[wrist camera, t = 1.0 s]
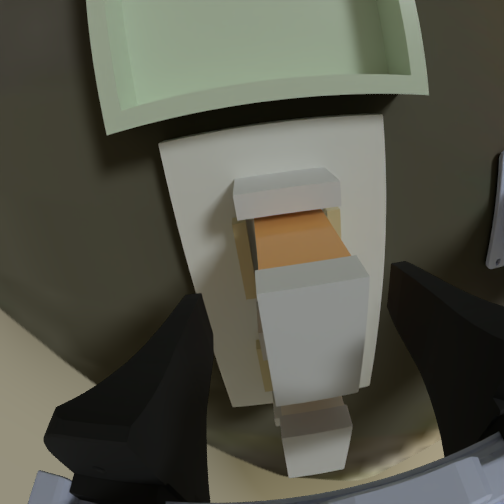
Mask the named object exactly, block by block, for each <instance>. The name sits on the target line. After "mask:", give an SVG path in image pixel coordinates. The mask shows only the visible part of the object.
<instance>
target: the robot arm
mask: <svg viewBox="0 0 504 504" xmlns="http://www.w3.org/2000/svg"><path fill="white" fill-rule="evenodd" d="M486 266H487V267H488V268H489V269H494V268H498V267H502V266H504V151H503V152H502V153H501V154H500V157H499V170H498V183H497V194H496V203H495V211H494V218H493V225H492V231H491V237H490V243H489V248H488V254H487V258H486ZM387 308H388V310H389V313H390V315H391V318H392V320H393V323H394V325H395V327H396V329H397V331H398V333H399V335H400V336H401V338H402V340H403V342H404V344H405V345H406V347H407V349H408V351H409V353H410V354H411V356H412V358H413V360H414V362H415V363H416V365H417V367H418V369H419V371H420V373H421V375H422V378H423V380H424V383H425V385H426V388H427V391H428V394H429V396H430V400H431V403H432V406H433V409H434V412H435V416H436V419H437V423H438V427H439V431H440V435H441V440H442V446H443V451H444V458H442V459H439V460H437V461H434V462H432V463H429V464H426V465H424V466H421V467H418V468H415V469H413V470H410V471H407V472H404V473H401V474H397V475H394V476H391V477H388V478H385V479H381V480H377V481H374V482H370V483H366V484H362V485H358V486H354V487H350V488H345V489H341V490H336V491H331V492H325V493H320V494H315V495H309V496H301V497H294V498H286V499H278V500H267V501H255V502H240V503H238V502H237V503H210V495H209V484H208V468H207V439H206V415H207V403H208V396H209V388H210V381H211V373H212V365H213V355H214V340H213V331H212V328H211V325H210V321H209V318H208V314H207V311H206V307H205V304H204V300H203V297H202V293H197V294H189V295H185V296H184V298H183V299H182V300H181V301H180V303H179V304H178V305H177V307H176V308H175V309H174V310H173V312H172V313H171V314H170V316H169V317H168V318H167V320H166V321H165V322H164V323H163V325H162V326H161V327H160V328H159V329H158V331H157V332H156V333H155V334H154V335H153V336H152V337H151V338H150V340H149V341H148V342H147V343H146V344H145V345H144V346H143V347H142V348H141V349H140V350H139V351H138V352H137V353H136V354H135V355H134V356H133V357H132V358H131V359H130V360H129V361H128V362H126V363H125V364H124V365H123V366H122V367H120V368H119V369H118V370H117V371H115V372H114V373H113V374H111V375H110V376H109V377H108V378H106V379H105V380H103V381H102V382H100V383H99V384H98V385H96V386H94V387H93V388H91V389H90V390H88V391H86V392H85V393H83V394H81V395H80V396H78V397H76V398H74V399H72V400H70V401H68V402H66V403H64V404H62V405H60V406H58V407H56V409H55V411H54V413H53V416H52V418H51V420H50V423H49V426H48V428H47V430H46V433H45V436H44V443H45V445H46V447H47V449H48V450H49V451H50V452H51V453H52V454H53V455H54V456H55V457H56V458H57V459H58V460H59V461H60V462H62V463H63V464H64V465H65V466H66V467H67V468H69V469H70V470H71V471H72V472H73V473H74V476H73V480H72V481H71V480H70V479H68V478H65V477H63V476H59V475H55V474H52V473H48V472H45V471H41V470H40V471H38V473H37V476H36V479H35V482H34V485H33V488H32V491H31V495H30V498H29V501H28V504H504V306H500V305H497V304H494V303H491V302H488V301H486V300H483V299H481V298H478V297H476V296H473V295H471V294H469V293H467V292H465V291H462V290H460V289H458V288H456V287H454V286H452V285H450V284H448V283H446V282H445V281H443V280H441V279H439V278H437V277H435V276H433V275H432V274H430V273H428V272H426V271H424V270H422V269H421V268H419V267H417V266H415V265H413V264H411V263H408V262H406V261H403V262H397V263H392V264H391V272H390V283H389V293H388V303H387Z"/></svg>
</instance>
